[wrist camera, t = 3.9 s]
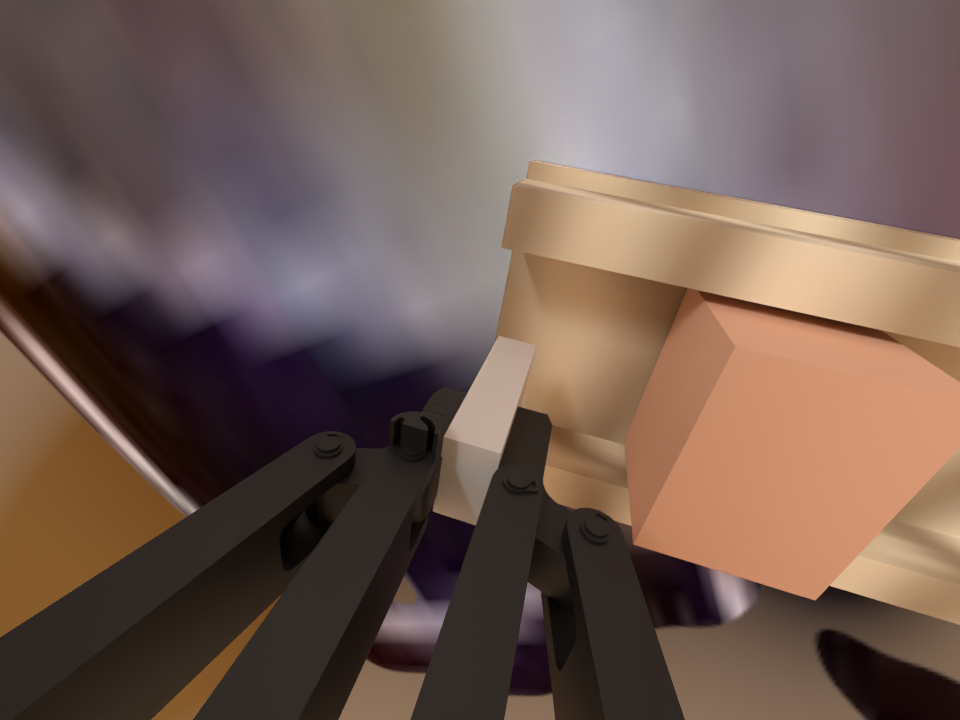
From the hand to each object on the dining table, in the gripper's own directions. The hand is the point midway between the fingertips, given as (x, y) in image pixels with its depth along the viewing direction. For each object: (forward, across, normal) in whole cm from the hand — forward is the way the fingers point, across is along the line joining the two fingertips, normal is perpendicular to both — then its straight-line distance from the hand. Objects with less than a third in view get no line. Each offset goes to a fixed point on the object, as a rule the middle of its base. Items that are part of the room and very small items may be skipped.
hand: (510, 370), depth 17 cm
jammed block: (+3, +9, 0) cm, 9 cm away
